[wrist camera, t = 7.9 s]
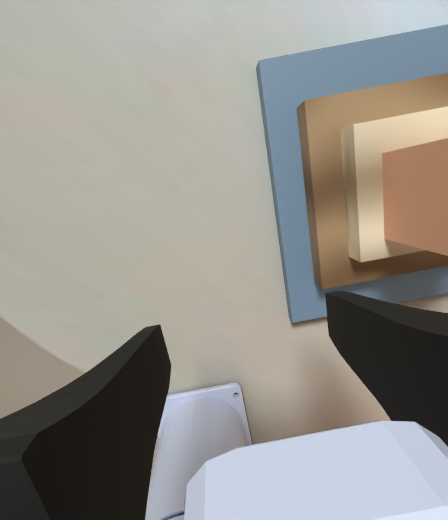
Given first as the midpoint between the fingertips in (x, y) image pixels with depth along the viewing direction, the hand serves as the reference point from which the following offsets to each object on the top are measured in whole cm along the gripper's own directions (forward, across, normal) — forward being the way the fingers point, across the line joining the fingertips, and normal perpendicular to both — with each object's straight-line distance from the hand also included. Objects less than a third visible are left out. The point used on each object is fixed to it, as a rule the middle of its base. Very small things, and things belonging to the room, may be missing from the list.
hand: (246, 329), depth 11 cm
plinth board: (+9, -12, -4) cm, 16 cm away
